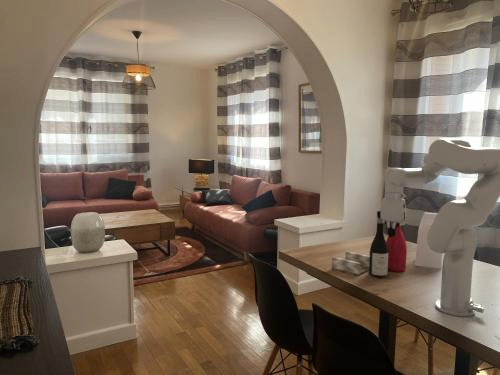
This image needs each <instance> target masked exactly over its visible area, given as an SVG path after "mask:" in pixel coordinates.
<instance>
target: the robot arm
mask: <svg viewBox="0 0 500 375" xmlns="http://www.w3.org/2000/svg"><path fill="white" fill-rule="evenodd" d="M448 169H450V170H452V171H453V172H454V171H455V172H457V173H460V174H464V175H475V174H476V175H481V176H480V177H479V178H478V179H476V181H475V182H474V183H473V184H472V186H471V187H470V189H469V191H468V192H467V194H466V196H465V197H464V198H463V199H459V200H452V201H451V200H450V201H448V202H446V203H445V204H443V205H442V206H441V207H440V209H439V210H438V212H437V213H438V214H437V216H436V218H435V220H434V222H433V224H432V226H431V228H430V230H429V232H428V235H427V243H428V245H429V247H430V249H431V250H433V251H434V252H436V253H442V254H444V255H443V258H442V269H441V281H440V282H441V285H440V299H437V301H436V302H435V304H434V305H435V308H436V309H437V310H439V311H440V312H442V313H444V314H447V315H450V316H454V317H463V316H464V317H465V318H466V317H471V316H473V315H475V312H477V313H481V314H483V313H484V311H485V308H484V307H482V305H481V304H477V303H475V302H474V301H473V298H471V297H472V296H471V294H472V283H473V282H472V281H473V280H472V279H473V269H474V257H475V253H476V250H477V247H478V242H479V241H478V239H479V238H478V234H477V232H476V230H475V229H474V228H476V227H479V226H482V225H483V224H484V223H485V222H486V220H487V219H488V217H489V215H490V214H491V212H492V210H493V209H494V207H495V205H496V204H497V201H498V200H499V198H500V149H499V148H495V147H472V145H471V144H470V142H468V140H466V139H463V138H458V137H457V138H456V137H455V138H452V137H451V138H450V137H449V138H448V137H445V138H437V139H435V140H434V141H433V142H431V144H430V146H429V148H428V153H427V154H426V155H425V156H424V157H423V166H421V167H418V168H417V167H416V168H415V167H414V168H413V167H412V168H402V167H388V168H387V169H386V170H385V180H384V183H385V184H384V197H383V199H382V202H381V206H380V211H381V213H380V218H381V219H382V223H383V224H384V225H385V226H386V227H387V236H389V237H395V235H396V228H397V227H398V226H406V220H407V204H406V199H404V198H407V193H405V192H404V187H405V188H407V187H421V186H425V185H427V184H429V183H431V182H434V181H435V180H436V179H438V178H439V176H440V175H441V173H442V172H444V171H446V170H448ZM464 317H463V318H464Z"/></svg>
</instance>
